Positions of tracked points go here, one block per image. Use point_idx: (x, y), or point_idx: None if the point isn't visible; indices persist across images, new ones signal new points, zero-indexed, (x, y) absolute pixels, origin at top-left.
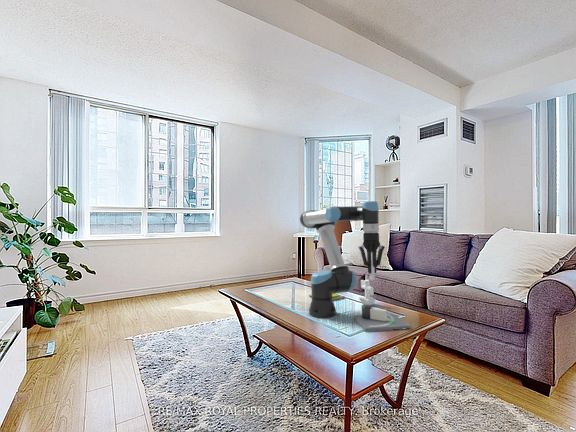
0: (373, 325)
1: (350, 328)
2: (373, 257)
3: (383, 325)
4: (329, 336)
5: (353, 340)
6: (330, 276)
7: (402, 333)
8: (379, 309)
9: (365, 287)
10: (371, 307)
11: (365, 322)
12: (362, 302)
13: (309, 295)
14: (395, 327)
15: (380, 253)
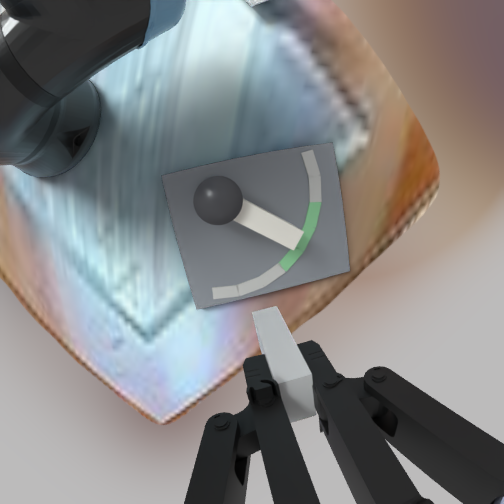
0: (229, 280)
1: (148, 279)
2: (352, 485)
3: (264, 282)
4: (95, 343)
5: (160, 365)
6: None
7: (310, 307)
8: (273, 226)
9: None
10: (239, 210)
11: (203, 250)
12: None
13: None
14: (301, 282)
15: (454, 485)
